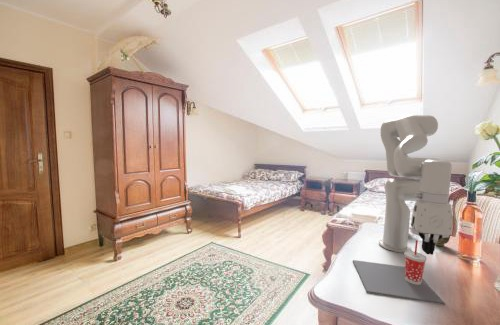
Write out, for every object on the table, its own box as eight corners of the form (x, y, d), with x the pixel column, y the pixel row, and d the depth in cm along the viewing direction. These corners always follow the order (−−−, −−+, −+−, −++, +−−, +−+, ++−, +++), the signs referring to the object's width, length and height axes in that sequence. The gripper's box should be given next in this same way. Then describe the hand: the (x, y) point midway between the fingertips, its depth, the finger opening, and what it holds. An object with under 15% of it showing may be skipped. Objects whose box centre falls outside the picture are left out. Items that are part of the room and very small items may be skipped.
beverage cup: (403, 273, 83) (406, 235, 82) (424, 280, 79) (428, 240, 78) (400, 280, 78) (404, 240, 77) (423, 288, 74) (427, 246, 73)
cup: (443, 250, 105) (445, 232, 104) (425, 243, 112) (427, 227, 111) (453, 247, 108) (454, 231, 107) (435, 241, 115) (436, 225, 114)
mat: (352, 261, 92) (352, 259, 92) (412, 269, 87) (412, 267, 87) (366, 292, 72) (367, 290, 72) (444, 304, 68) (444, 302, 68)
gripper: (412, 198, 73) (407, 254, 75) (468, 202, 70) (461, 261, 72) (402, 193, 81) (397, 245, 82) (452, 197, 78) (446, 250, 79)
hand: (427, 252), depth 77 cm, fingers closed
